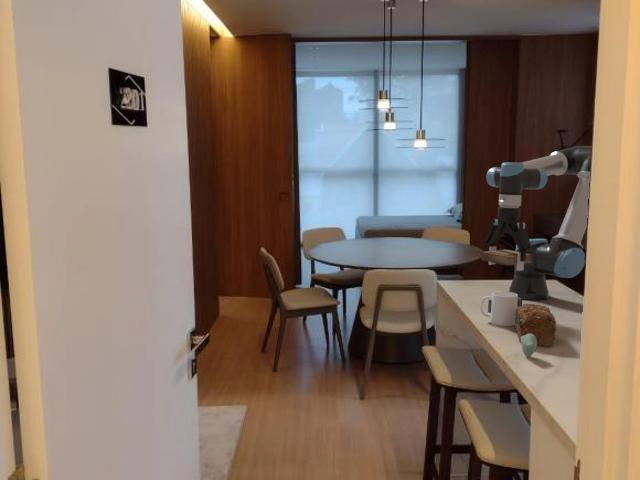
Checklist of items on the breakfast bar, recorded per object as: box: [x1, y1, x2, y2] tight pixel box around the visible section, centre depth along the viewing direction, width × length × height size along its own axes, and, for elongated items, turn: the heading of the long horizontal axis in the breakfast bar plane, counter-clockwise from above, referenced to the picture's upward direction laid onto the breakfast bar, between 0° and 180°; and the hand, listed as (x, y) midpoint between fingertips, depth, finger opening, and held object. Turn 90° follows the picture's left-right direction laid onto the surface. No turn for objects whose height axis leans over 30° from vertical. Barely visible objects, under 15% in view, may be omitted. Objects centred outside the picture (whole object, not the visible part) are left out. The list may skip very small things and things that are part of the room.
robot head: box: [520, 334, 538, 358], centre depth 171 cm, size 8×4×7 cm, turn 177°
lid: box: [480, 249, 532, 267], centre depth 215 cm, size 12×12×3 cm
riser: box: [487, 297, 524, 314], centre depth 219 cm, size 11×6×5 cm, turn 123°
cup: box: [479, 290, 518, 327], centre depth 205 cm, size 8×12×10 cm
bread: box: [514, 303, 557, 348], centre depth 188 cm, size 19×11×10 cm, turn 166°
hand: (505, 267), depth 215 cm, fingers closed on lid, 12 cm apart
